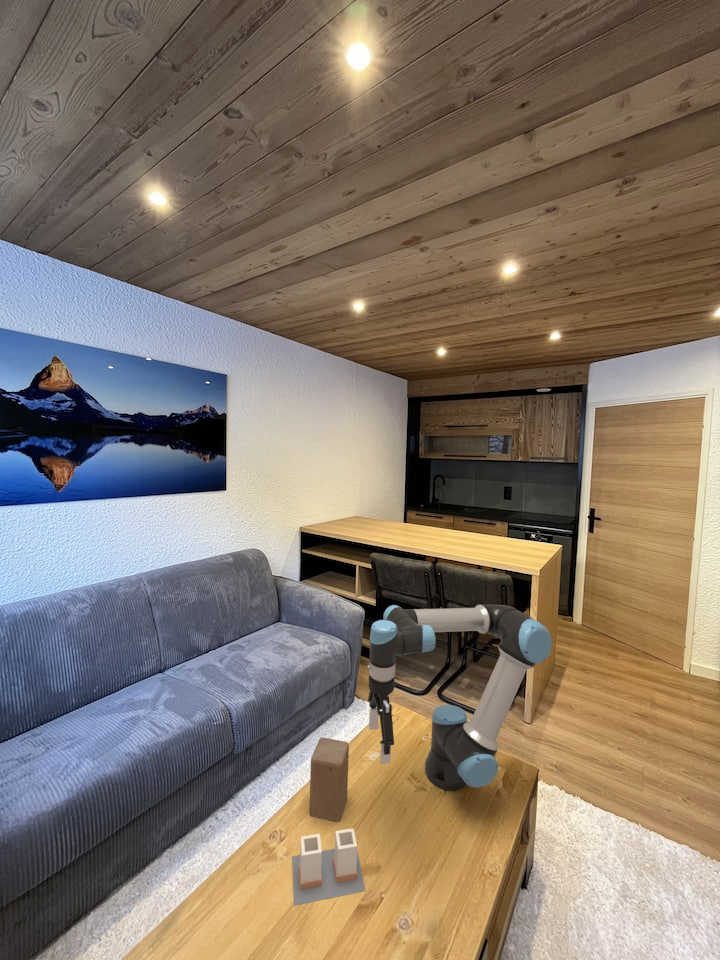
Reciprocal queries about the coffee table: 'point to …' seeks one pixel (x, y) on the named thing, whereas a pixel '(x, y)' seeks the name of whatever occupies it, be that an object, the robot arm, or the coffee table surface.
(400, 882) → the coffee table surface
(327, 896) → the pin board
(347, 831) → the sleeve
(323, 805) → the wooden block
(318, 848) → the sleeve
